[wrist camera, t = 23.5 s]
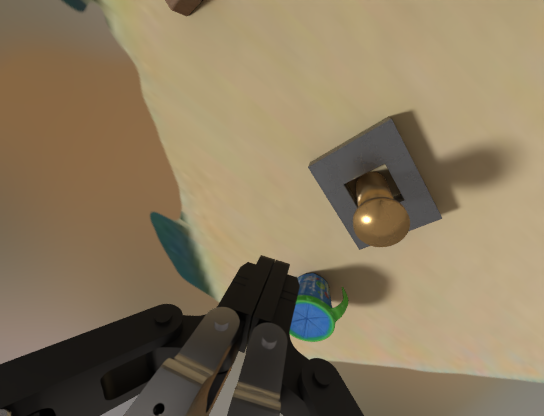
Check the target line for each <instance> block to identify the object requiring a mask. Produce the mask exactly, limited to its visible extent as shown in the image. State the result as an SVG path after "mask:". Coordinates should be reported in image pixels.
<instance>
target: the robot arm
mask: <svg viewBox="0 0 544 416" xmlns="http://www.w3.org/2000/svg"><path fill="white" fill-rule="evenodd" d="M289 266H290V264H288V263H285V262H282V261H278V260H276V261H275V259H272V258H268V257H265V256H262V255H261V256H260V258H259V260H258V262H257V264H253V263H249V262H247V263H246V264H244V265H243V266H241V267H240V269H239V270H238V272H237V274H236V276H235V277H234V279H233V281H232V282H231V284H230V286H229V288H228V289H227V291H226V293H225V295H224V296H223V298H222V300H221V301H220V303H219V305H218V306H217V308H214V309H212V310H210V311H209V312H208V313H207V314H206V315H202V316H185V315H183V314H182V311H181V310H180V309H179V308H178V307H177V306H175V305H172V304H162V305H158V306H156V307H153V308H150V309H147V310H145V311H142V312H140V313H137V314H134V315H132V316H129V317H126V318H123V319H121V320H118V321H115V322H113V323H110V324H107V325H105V326H102V327H99V328H97V329H94V330H91V331H88V332H86V333H83V334H80V335H78V336H75V337H73V338H70V339H67V340H64V341H62V342H59V343H56V344H54V345H51V346H48V347H45V348H43V349H40V350H38V351H35V352H32V353H29V354H27V355H25V356H21V357H19V358H16V359H14V360H11V361H8V362H5V363H3V364H0V416H100V415H102V414H104V413H106V412H107V411H109V410H111V409H113V408H115V407H117V406H118V405H120V404H122V403H124V402H126V401H128V400H129V399H131V398H133V397H135V396H136V395H138V394H139V395H138V397H137V398H136V399H135V401H134V402H133V404H132V405H131V406H130V408H129V409H128V410H127V411H126V413H125V414H124V415H123V416H209V414H210V412H211V410H212V408H213V406H214V404H215V402H216V400H217V398H218V396H219V394H220V392H221V390H222V388H223V386H224V383H225V381H226V379H227V377H228V375H229V373H230V371H231V369H232V365H233V363H234V361H235V359H236V356H237V354H238V351H240V352H243V353H244V352H245V349H246V347H247V349H246V356H245V359H244V363H243V366H242V369H241V373H240V376H239V380H238V383H237V386H236V388H235V391H234V394H233V397H232V400H231V404H230V407H229V411H228V414H227V416H279V415H280V413H281V414H283V416H364V415H363V413H362V412H361V410H360V408H359V407H358V405H357V403H356V401H355V400H354V398H353V396H352V395H351V393H350V391H349V390H348V388H347V386H346V385H345V383H344V381H343V380H342V378H341V376H340V375H339V373H338V371H337V370H336V368H335V367H334V366H333V365H332V364H331V363H329V362H328V361H326V360H324V359H320V358H313V359H310V360H309V359H307V358H306V357H305V356H303V355H302V354H301V353H299V352H298V351H297V350H296V349H295V347H294V346H293V344H292V342H291V340H290V335H289V332H290V327H291V322H292V318H293V314H294V309H295V305H296V301H297V296H298V292H299V288H300V285H299V282H298V278H297V277H294V276H291V275H288V270H289ZM247 344H248V345H247Z"/></svg>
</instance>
